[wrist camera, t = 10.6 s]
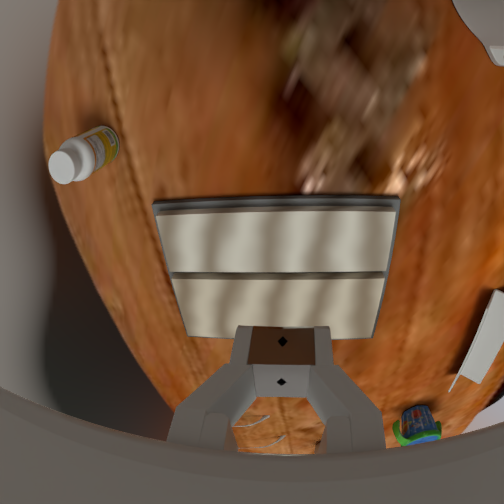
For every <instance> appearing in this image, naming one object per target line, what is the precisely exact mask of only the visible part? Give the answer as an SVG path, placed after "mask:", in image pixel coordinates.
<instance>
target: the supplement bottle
mask: <svg viewBox="0 0 504 504" xmlns="http://www.w3.org/2000/svg"><path fill="white" fill-rule="evenodd" d="M118 151H119V140H118V137H117V135H116V134H115V132H114V131H113V130H112V129H111V128H109V127H106V126H98V127H95V128H92V129H90V130H88V131H86V132H83V133H81V134H79V135H76V136H74V137H72V138H70V139H68V140H66V141H65V142H64V143H63V144H62V145H61V147H60V149H59V150H58V151H56V152H54V153H53V154H52V155H51V157H50V159H49V171H50V174H51V176H52V177H53V179H54V180H55V181H57V182H58V183H60V184H68V183H70V182H71V181H81V180H84V179H86V178H87V177H89V176H90V175H92V174H93V173H95V172H96V171H98V170H99V169H101V168H102V167H104V166H105V165H107V164H108V163H110V162H111V161H113V160H114V159H115V157H116V156H117V154H118Z"/></svg>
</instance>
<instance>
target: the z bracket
mask: <svg viewBox="0 0 504 504" xmlns="http://www.w3.org/2000/svg"><path fill="white" fill-rule="evenodd" d="M503 342H504V292H502V291H500V290H498V289H494V291H493V293H492V296H491V298H490V301H489V303H488V305H487V307H486V310H485V313H484V315H483V318H482V320H481V323H480V325H479V328H478V330H477V333H476V335H475V338H474V340H473V342H472V344H471V347H470V349H469V351H468V353H467V355H466V358H465V360H464V362H463V364H462V366H461V368H460V370H459V372H458V374H457V376H456V378H455V380H454V382H453V384H452V385H451V387H450V389H449V391H448V392H450V391H451V389H452V387H453V386H454V384H455V382H456V380H457V379H458V377H459V375H460V374H461V375H463V376H465V377H467V378H469V379H471V380H472V381H474V382H476V383H478V384H480V383H481V381H482V380H483V378H484V376H485V375H486V373H487V371H488V369H489V368H490V366H491V364H492V362H493V361H494V359H495V357H496V355H497V353H498V351H499V349H500V347H501V345H502V344H503Z"/></svg>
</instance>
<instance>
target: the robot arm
mask: <svg viewBox="0 0 504 504" xmlns="http://www.w3.org/2000/svg"><path fill="white" fill-rule="evenodd" d="M452 1H453V3H454V6H455V8H456V10H457V12H458V13H459V15H460V17H461V18H462V20H463V21H464V23H465V24H466V25H467V27H468V28H469V29H470V30H471V31H472V32H473V33H474V35H475V36H476V37H477V38H478V39H479V40H480V41H481V42H482V43H483V45H484V47H485V49H486V51H487V53H488V55H489V57H490V59H491V60H492V62H493V63H494V64H495V65H497V66H504V0H452ZM256 397H307V399H308V401H309V402H310V404H311V405H312V407H313V408H314V410H315V411H316V413H317V414H318V416H319V417H320V419H321V420H322V422H323V423H324V425H325V429H324V432H323V435H322V439H321V442H320V446H319V449H318V454H268V453H250V452H238V446H237V443H236V439H235V436H234V433H233V430H232V427H233V425H234V424H235V423H236V422H237V421H238V419H239V418H240V417H241V416H242V415H243V413H244V412H245V411H246V410H247V409H248V407H249V406H250V405H251V404H252V403H253V401H254V400H255V399H256ZM0 504H504V422H501V423H498V424H495V425H492V426H489V427H486V428H482V429H479V430H475V431H472V432H468V433H465V434H460V435H456V436H452V437H448V438H444V439H439V440H435V441H430V442H425V443H419V444H414V445H408V446H401V447H395V448H387V449H386V444H385V436H384V428H383V420H382V413H381V411H380V410H379V409H378V408H377V407H376V406H375V405H374V404H373V403H372V402H371V400H370V399H369V398H368V397H367V396H366V395H365V394H364V393H363V392H362V391H361V390H360V388H359V387H358V386H357V385H356V384H355V383H354V382H353V381H352V380H351V379H350V378H349V376H348V375H347V374H346V373H345V372H344V371H343V370H342V369H341V368H340V367H339V365H334V363H333V352H332V342H331V332H330V327H329V326H314V327H313V326H294V327H272V326H243V325H238V327H237V329H236V333H235V338H234V343H233V348H232V353H231V358H230V363H229V364H224V365H223V366H222V367H221V368H220V369H218V370H217V371H216V372H215V373H214V374H213V375H212V376H211V377H210V378H209V379H207V380H206V381H205V382H204V383H203V384H202V385H201V386H200V387H199V388H197V389H196V390H195V391H194V392H193V393H192V394H191V395H190V396H188V397H187V398H186V399H185V400H184V401H183V402H182V403H180V404H179V405H178V406H177V407H176V410H175V414H174V417H173V420H172V424H171V427H170V430H169V434H168V437H167V441H166V442H165V441H160V440H155V439H150V438H146V437H141V436H137V435H133V434H129V433H124V432H121V431H117V430H113V429H110V428H106V427H103V426H99V425H96V424H92V423H90V422H86V421H83V420H80V419H77V418H74V417H71V416H68V415H66V414H63V413H60V412H57V411H55V410H52V409H50V408H47V407H45V406H42V405H40V404H37V403H35V402H32V401H30V400H28V399H25V398H23V397H21V396H19V395H16V394H14V393H12V392H10V391H8V390H6V389H3V388H2V387H0Z"/></svg>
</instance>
